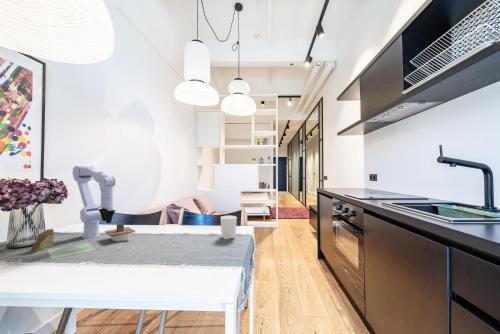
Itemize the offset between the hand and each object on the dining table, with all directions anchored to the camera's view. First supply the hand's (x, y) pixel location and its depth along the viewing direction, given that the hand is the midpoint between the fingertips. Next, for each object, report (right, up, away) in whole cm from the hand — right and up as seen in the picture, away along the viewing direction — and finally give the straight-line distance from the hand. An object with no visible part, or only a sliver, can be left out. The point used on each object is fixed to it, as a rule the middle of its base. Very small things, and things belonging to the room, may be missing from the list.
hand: (106, 221), depth 121 cm
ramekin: (+7, -11, +2) cm, 13 cm away
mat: (-7, -10, -16) cm, 20 cm away
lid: (+7, -6, +2) cm, 9 cm away
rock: (-22, -10, -15) cm, 29 cm away
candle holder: (+69, -11, +7) cm, 70 cm away
